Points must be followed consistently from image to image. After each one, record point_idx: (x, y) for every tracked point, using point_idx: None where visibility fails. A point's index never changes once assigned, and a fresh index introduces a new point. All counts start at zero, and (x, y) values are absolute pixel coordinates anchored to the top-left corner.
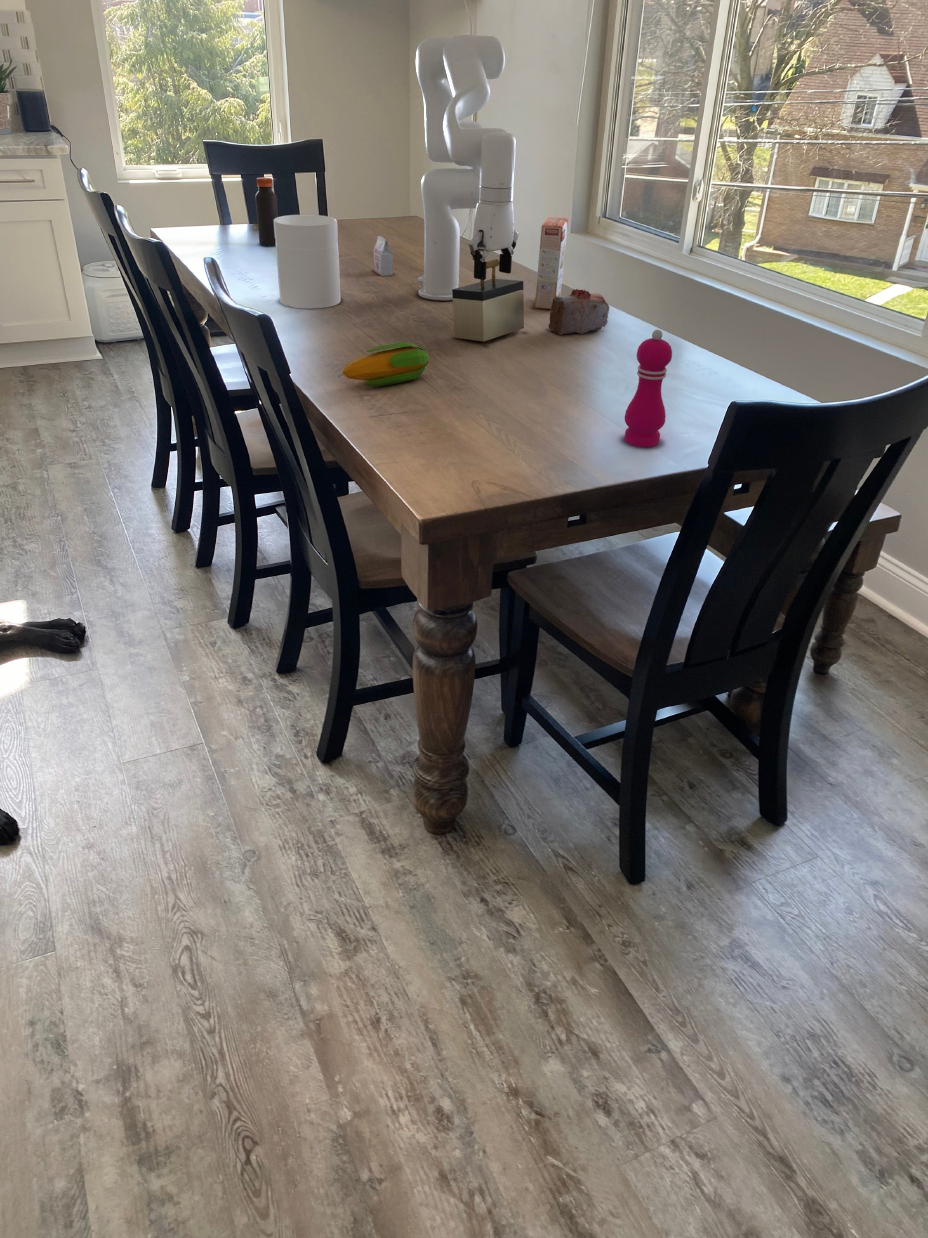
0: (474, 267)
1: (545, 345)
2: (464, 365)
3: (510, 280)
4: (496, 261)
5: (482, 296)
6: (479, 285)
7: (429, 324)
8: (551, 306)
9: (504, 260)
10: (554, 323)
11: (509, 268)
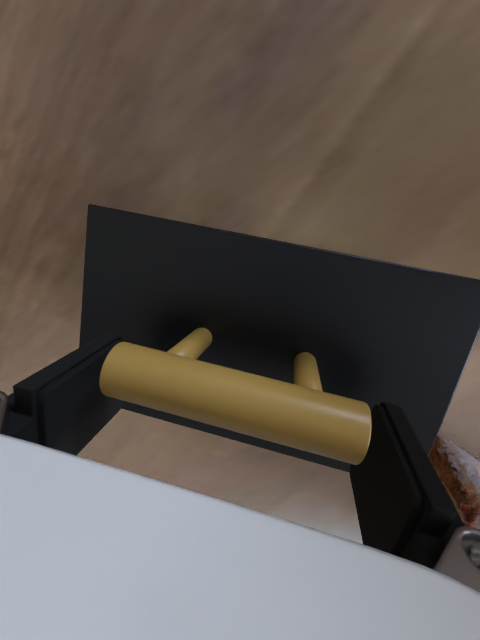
0: (65, 360)
1: (271, 453)
2: (32, 352)
3: (421, 418)
4: (319, 453)
5: None
6: (228, 306)
7: (279, 37)
8: (460, 486)
9: (379, 505)
10: None
11: (356, 496)
